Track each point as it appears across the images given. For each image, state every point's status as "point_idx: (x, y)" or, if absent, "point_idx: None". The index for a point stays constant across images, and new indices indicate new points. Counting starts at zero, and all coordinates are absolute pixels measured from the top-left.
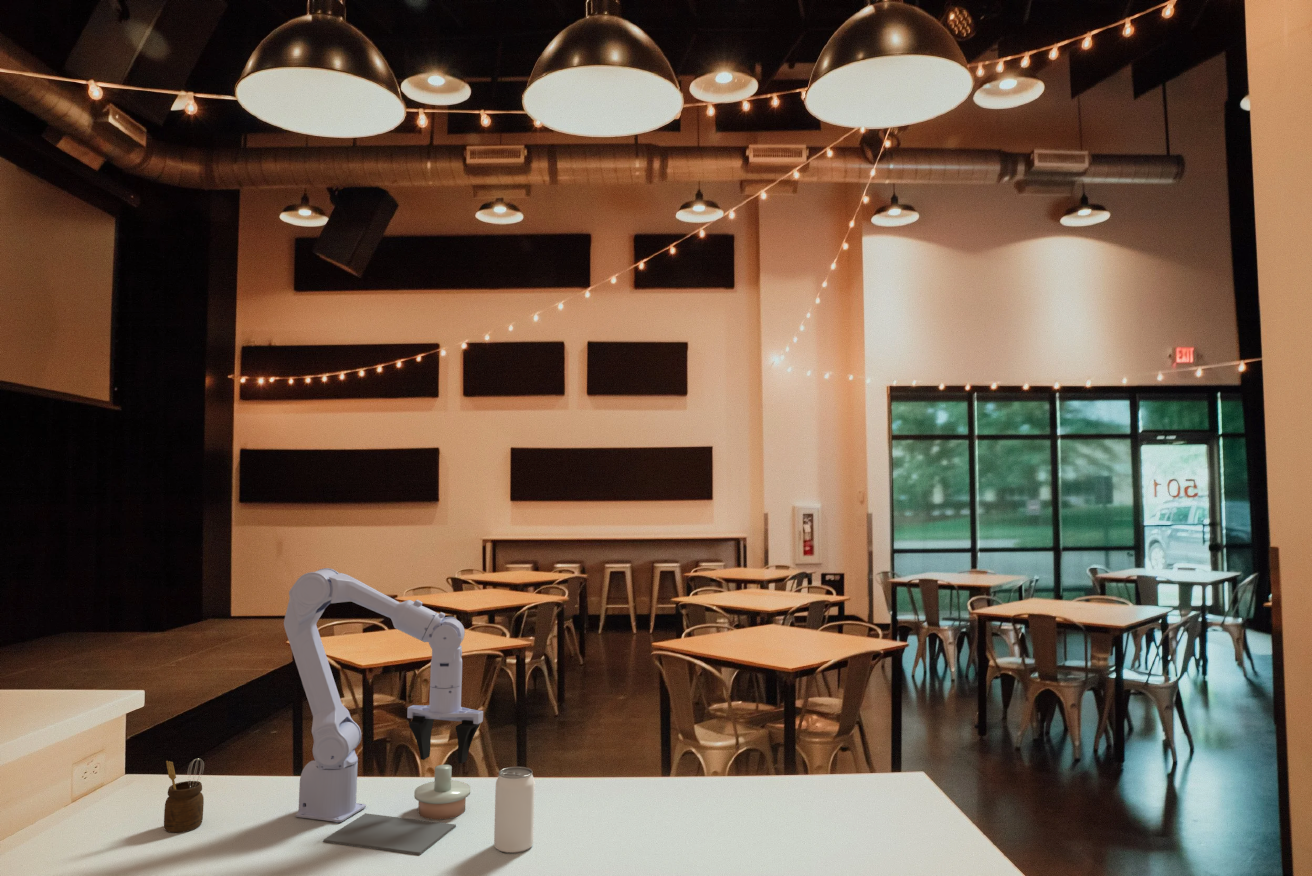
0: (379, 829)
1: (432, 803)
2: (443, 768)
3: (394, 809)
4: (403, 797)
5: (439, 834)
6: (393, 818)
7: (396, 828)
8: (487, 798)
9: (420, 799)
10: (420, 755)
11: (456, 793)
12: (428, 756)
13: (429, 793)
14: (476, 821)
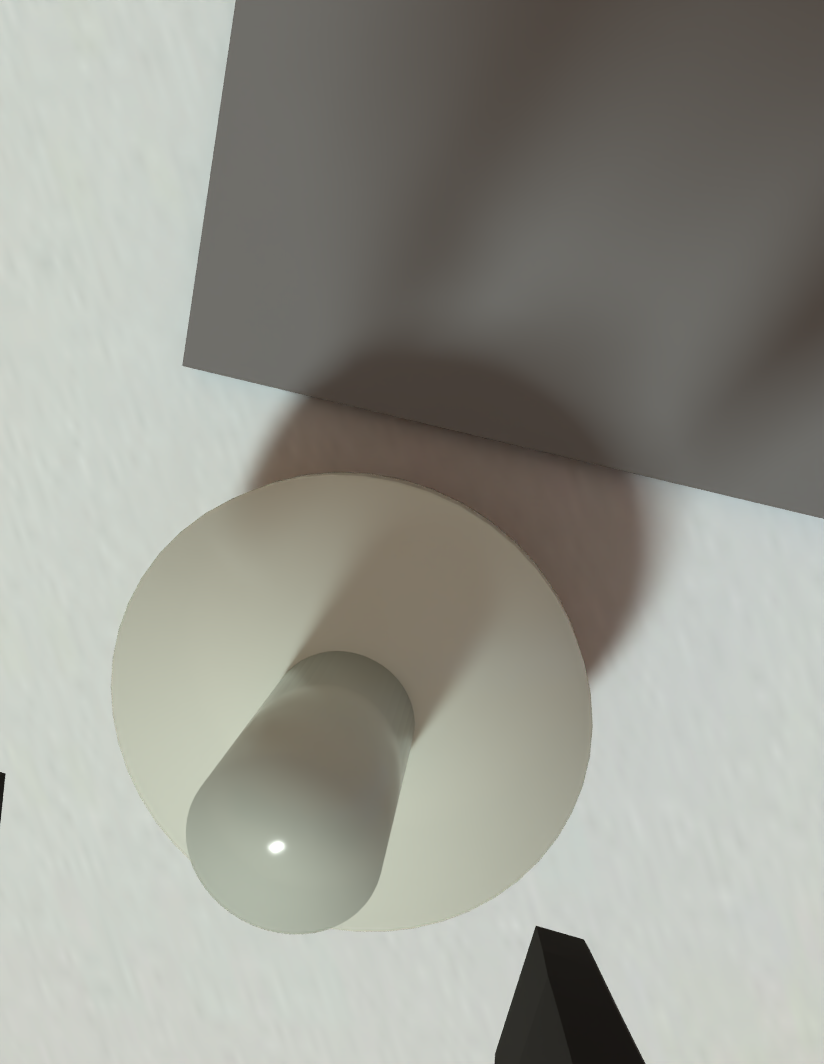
0: (738, 215)
1: (364, 474)
2: (267, 803)
3: (731, 669)
4: (724, 889)
5: (239, 163)
6: (684, 451)
7: (602, 248)
8: (144, 859)
9: (484, 519)
10: (598, 978)
11: (192, 625)
12: (502, 1038)
13: (428, 618)
14: (86, 470)
